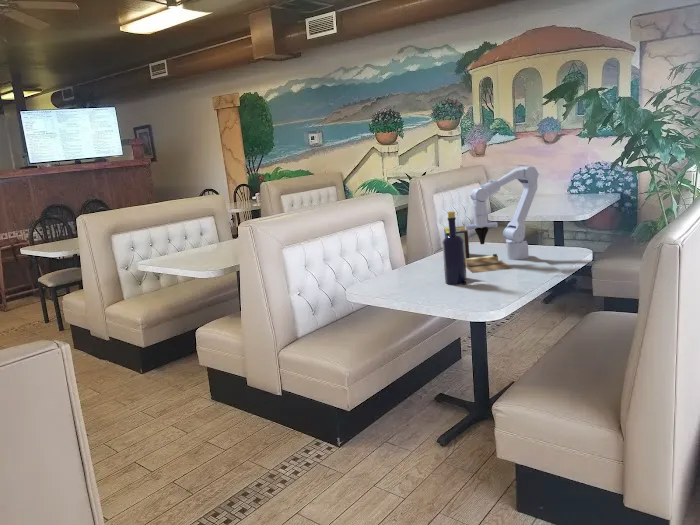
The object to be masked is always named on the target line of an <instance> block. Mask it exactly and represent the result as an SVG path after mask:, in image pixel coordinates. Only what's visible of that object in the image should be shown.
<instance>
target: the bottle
mask: <svg viewBox="0 0 700 525" xmlns="http://www.w3.org/2000/svg"><path fill="white" fill-rule="evenodd" d="M456 218H457V217H456V212H455V210H454V211H453V210H452V211H448V212H447V221H448V228H449V233H450V236H447V237H445V236H444V239H443V241H442V251H443V253H442V254H443V267H444V269H443V270H444V279H445V280H444V281H445V284H447V285H448V286H449V285H450V286H459V285H465V284H466V283H467V281H466V280H467V278H468V277H467V268H466V262H465V247H464V240H463V239H462V237H461V236H459V235H456V227H457V226H456V220H457V219H456Z"/></svg>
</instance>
